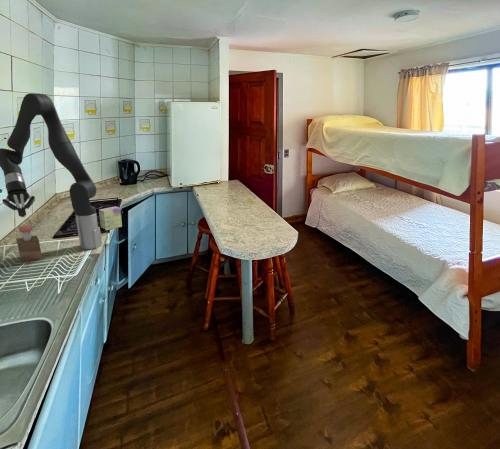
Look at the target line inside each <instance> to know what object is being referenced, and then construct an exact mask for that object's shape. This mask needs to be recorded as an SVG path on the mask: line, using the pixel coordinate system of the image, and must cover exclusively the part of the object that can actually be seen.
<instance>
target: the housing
mask: <svg viewBox="0 0 500 449" xmlns="http://www.w3.org/2000/svg"><path fill="white" fill-rule="evenodd" d="M31 239H32V240H29V241H24V240H23V237H20V238H19V237H18V238H16V244H17V249H18V253H19V258H20V261H21V263H27V262H32V261H38V260H42V259H43V255H42V250H41V249H42V248H41V244H40V240H39V238H38V235H33V236H32V235H31Z"/></svg>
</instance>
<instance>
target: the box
mask: <svg viewBox="0 0 500 449" xmlns="http://www.w3.org/2000/svg"><path fill="white" fill-rule="evenodd" d="M98 214H99V222H100V229H101V228H103V229H105V230H104V231H109V230H113V229H117V228H123V222H122V212H121V207H119V206H111V207H106V208H105V207H104V208H101V209H98ZM103 229H102V230H103Z"/></svg>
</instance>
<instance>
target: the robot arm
mask: <svg viewBox="0 0 500 449" xmlns="http://www.w3.org/2000/svg"><path fill="white" fill-rule="evenodd" d="M21 101H22V102H21V104H20V108H19V112H18V115H17V119H16V122H15V125H14V128H13V130H12V132H11V133H10V135H9V138H8V139H7V142H6V145H7V146H8V148H10V149H8V148H0V168H1V170H2V171H3V172H2V173H3V176H4V185H5V188H6V192H7V195H6V198H3V199H2V204H3V205H5V206H6V207H7V208H9V209H10V210H13V211H16V212H17V214H18V216H19V217H20V218H25V217H26V216H27V212H26V209H30V208H31V207H32V205H33V204H34V202H36V197H35V196H34V195H30V194H29V193H28V190H27V187H26V186H27V185H26V181H25V179H24V176H23V173H22V169H21V166H20V165H21V164H22V163H23V158H24V152H25V148H26V146H27V144H28V143H29V140H30V138H31V125H32V122H33V120H34V119H35V117H36V116H41V117H42V119H43V121H44V122H45V126H46V128H47V138H48V139H47V140H48V146H49V148H50V151H51V152H52V154H53V156H54V158H55V159H56V160H57V161H58V162H59V164H61V165H62V166H63V167H64V168H65V169H66V170H68V172H69V173H70V174H71V175H72V177H73V179H74V183H72V184H70V187H69V196H70V202H71V207H72V209H73V211H74V214H75V220H76V221H75V222H76V227H77V228H76V229H77V234H78V241H79V242H78V243H79V245H80V246H79V248H80V249H82V250H94V249H98V248H99V247H100V246H102V244H103V242H102V234H101V226H98V225H99V224H98V216H97V209H96V207H95V206H93V205H91V201H90V199H92V198H94V197H95V196H96V194H97V187H96V184H95V183H94V181H93V179H92V178H91V176H90V174H88V171H86V169H85V166H84V165H83V162H82V161H81V159H80V157H79V155H78V153H77V151H76V149H75V147H74V145H73V144H72V141H71V140H70V138H69V136H68V133H67V131H66V130H65V128H64V126H63V123H62V122H61V119H60V116H59V113H58V112H57V111H58V110H56V107H55V104H54V102H53V100H52V99H51V97H50V96H48V95H47V94H45V93H36V92H35V93H33V92H32V93H31V92H30V93H26V94H25V95H24V97H23V99H22V100H21ZM26 202H27V203H26ZM25 203H26V204H25Z"/></svg>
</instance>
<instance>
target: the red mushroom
mask: <svg viewBox="0 0 500 449" xmlns="http://www.w3.org/2000/svg"><path fill="white" fill-rule="evenodd" d="M31 231H33V226H32V225H29V224H27V225H20V226H18V232H19V233H21V235H22V238H23V240H24V241H29V240H32V239H31V236H32V234H31Z"/></svg>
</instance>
